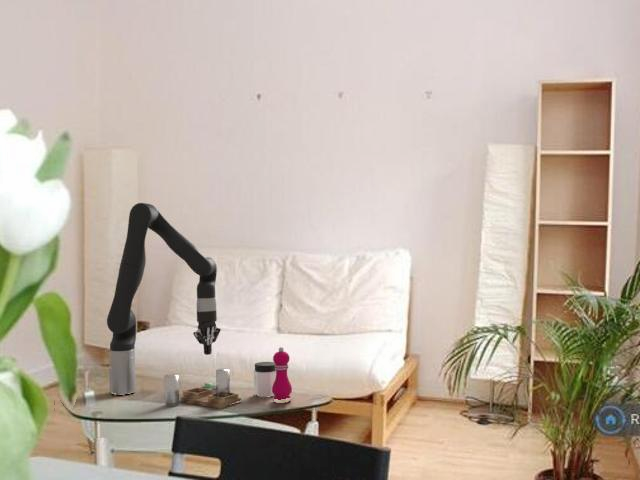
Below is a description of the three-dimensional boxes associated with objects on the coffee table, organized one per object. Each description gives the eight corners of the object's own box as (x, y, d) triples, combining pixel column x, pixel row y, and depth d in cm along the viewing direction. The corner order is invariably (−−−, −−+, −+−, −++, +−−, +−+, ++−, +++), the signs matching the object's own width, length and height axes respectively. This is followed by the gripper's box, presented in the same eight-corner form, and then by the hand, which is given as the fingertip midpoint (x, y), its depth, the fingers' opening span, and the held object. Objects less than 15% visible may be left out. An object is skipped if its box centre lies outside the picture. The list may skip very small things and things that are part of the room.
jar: (280, 396, 270) (279, 364, 270) (260, 398, 266) (259, 366, 266) (271, 391, 278) (270, 360, 278) (251, 393, 275) (251, 362, 274)
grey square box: (197, 394, 275) (197, 387, 275) (208, 391, 280) (208, 384, 280) (208, 396, 271) (208, 389, 271) (219, 393, 276) (219, 386, 276)
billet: (162, 405, 259) (161, 375, 258) (172, 403, 263) (171, 373, 262) (171, 407, 256) (171, 377, 255) (182, 404, 260) (181, 374, 260)
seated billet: (213, 400, 259) (212, 370, 258) (223, 397, 263) (222, 367, 263) (223, 402, 256) (223, 371, 256) (233, 399, 260) (232, 369, 260)
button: (202, 391, 275) (202, 383, 275) (208, 389, 278) (208, 382, 278) (208, 392, 273) (208, 384, 273) (214, 390, 276) (213, 383, 276)
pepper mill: (289, 404, 257) (288, 349, 257) (270, 403, 258) (268, 348, 258) (294, 399, 264) (293, 345, 264) (275, 399, 265) (274, 345, 265)
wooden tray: (179, 401, 265) (179, 392, 265) (201, 395, 274) (201, 386, 274) (220, 408, 253) (220, 399, 252) (241, 402, 261) (241, 392, 261)
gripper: (211, 307, 283) (212, 351, 283) (187, 310, 272) (188, 356, 272) (225, 308, 278) (226, 352, 278) (201, 311, 267) (202, 358, 268)
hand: (207, 354), depth 275 cm, fingers closed
